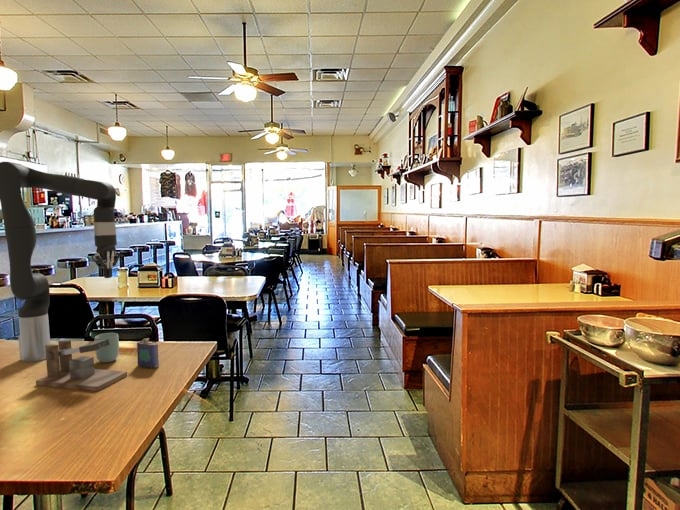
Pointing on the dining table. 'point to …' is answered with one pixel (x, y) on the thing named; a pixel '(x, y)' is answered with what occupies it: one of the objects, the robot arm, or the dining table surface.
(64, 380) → the frame
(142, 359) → the flask
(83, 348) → the lever
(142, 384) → the dining table surface
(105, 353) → the cup
